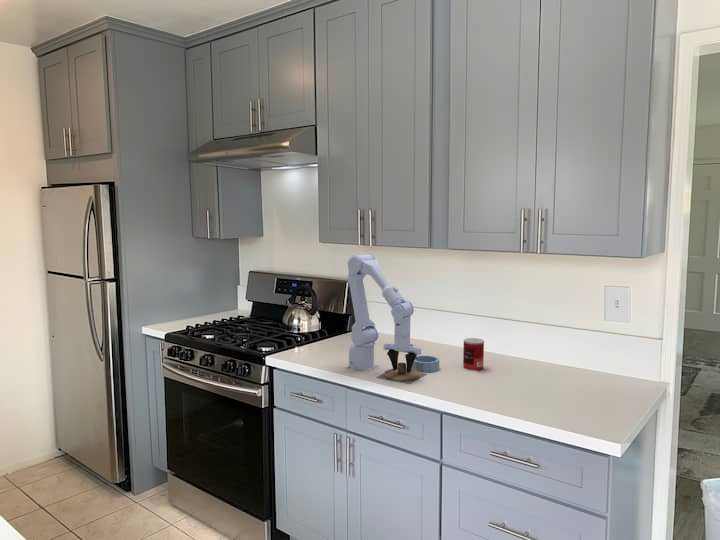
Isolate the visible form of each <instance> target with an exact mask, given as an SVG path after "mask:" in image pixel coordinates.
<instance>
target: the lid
mask: <svg viewBox="0 0 720 540" xmlns="http://www.w3.org/2000/svg"><path fill="white" fill-rule="evenodd" d="M420 373H421V372H418V371H416V370H413V369H411V372H410V373H407V363H406V362H398V368H397V370H395V371H394V370H393V368H390V369H386V370H385V371H384V373H383V374H384V376H385V378H387V379H389V380H388V381H390V380H393V381H392V382H395V381H413V380H416V379H418V378H419V377H420Z"/></svg>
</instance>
